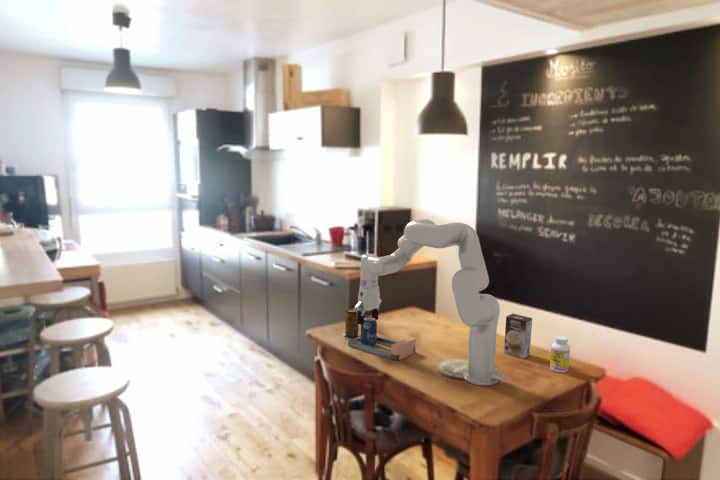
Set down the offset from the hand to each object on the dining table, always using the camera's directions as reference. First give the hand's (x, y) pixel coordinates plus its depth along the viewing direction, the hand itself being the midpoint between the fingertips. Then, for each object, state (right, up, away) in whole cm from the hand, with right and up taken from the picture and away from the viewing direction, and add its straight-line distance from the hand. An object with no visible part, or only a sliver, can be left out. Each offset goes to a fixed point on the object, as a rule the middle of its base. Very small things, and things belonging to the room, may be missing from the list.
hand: (367, 321), depth 216 cm
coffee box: (+62, -13, -7) cm, 64 cm away
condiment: (-7, -9, +13) cm, 17 cm away
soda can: (0, -11, +1) cm, 11 cm away
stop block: (+14, -12, -11) cm, 22 cm away
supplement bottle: (+73, -15, -23) cm, 78 cm away
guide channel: (+6, -11, -3) cm, 13 cm away
